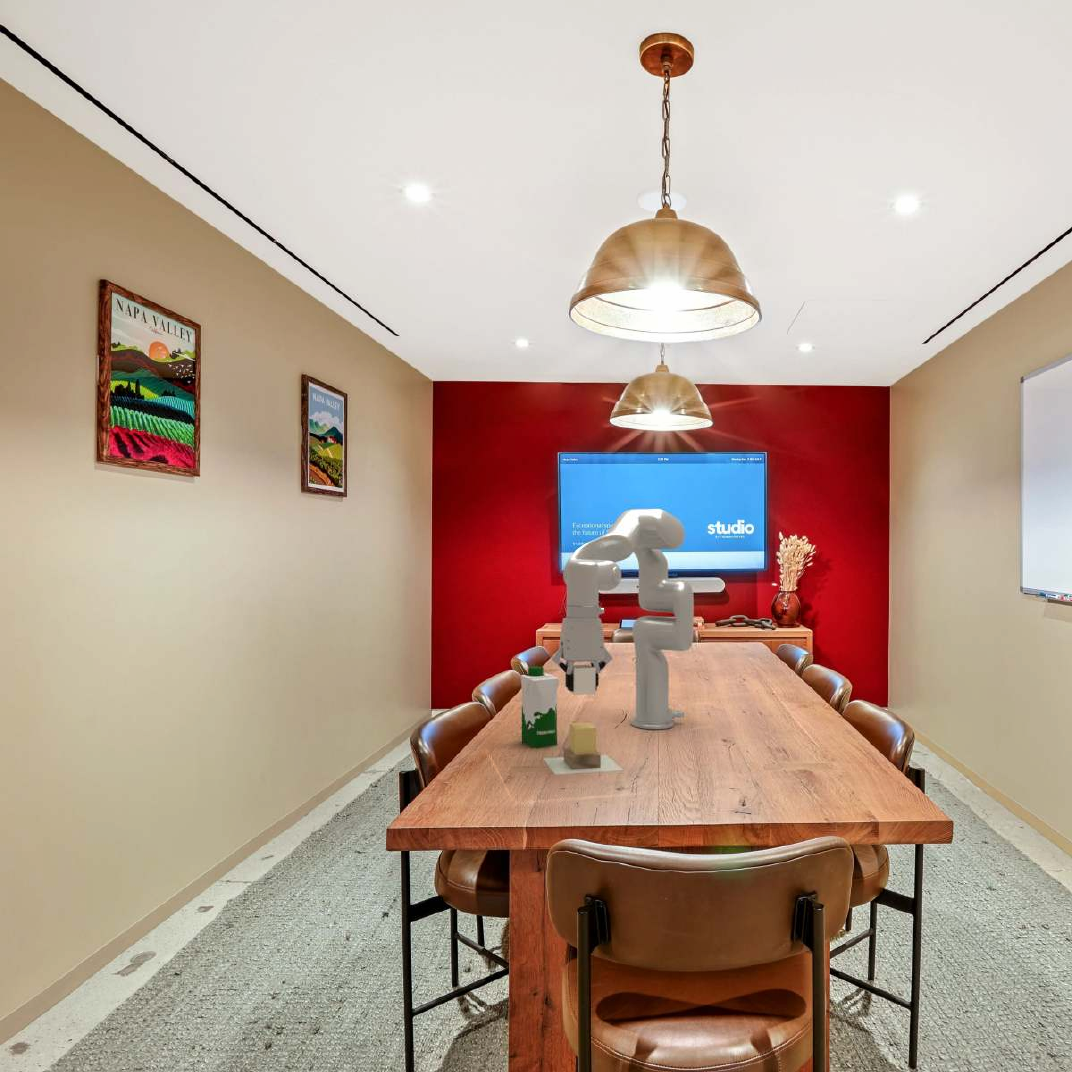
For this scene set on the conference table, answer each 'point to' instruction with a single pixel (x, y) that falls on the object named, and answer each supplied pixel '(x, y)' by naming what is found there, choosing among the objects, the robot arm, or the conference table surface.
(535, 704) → the milk carton
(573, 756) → the walnut base brick
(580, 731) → the mustard brick
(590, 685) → the cream brick
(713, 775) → the conference table surface
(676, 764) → the conference table surface
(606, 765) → the plate
